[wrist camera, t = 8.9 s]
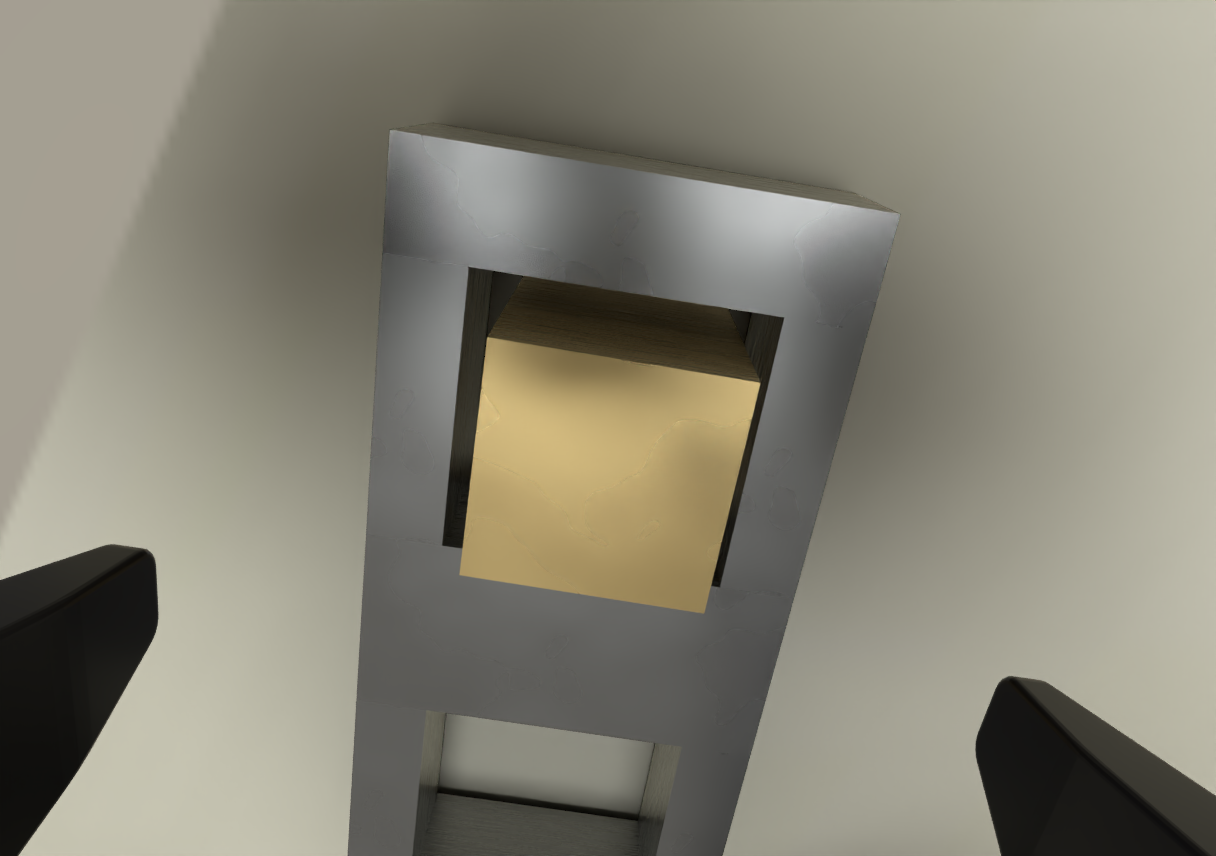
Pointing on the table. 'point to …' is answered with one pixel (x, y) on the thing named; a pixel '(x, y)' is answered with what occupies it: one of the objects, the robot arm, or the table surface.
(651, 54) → the table surface
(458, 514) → the grey slotted block
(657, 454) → the brass block
